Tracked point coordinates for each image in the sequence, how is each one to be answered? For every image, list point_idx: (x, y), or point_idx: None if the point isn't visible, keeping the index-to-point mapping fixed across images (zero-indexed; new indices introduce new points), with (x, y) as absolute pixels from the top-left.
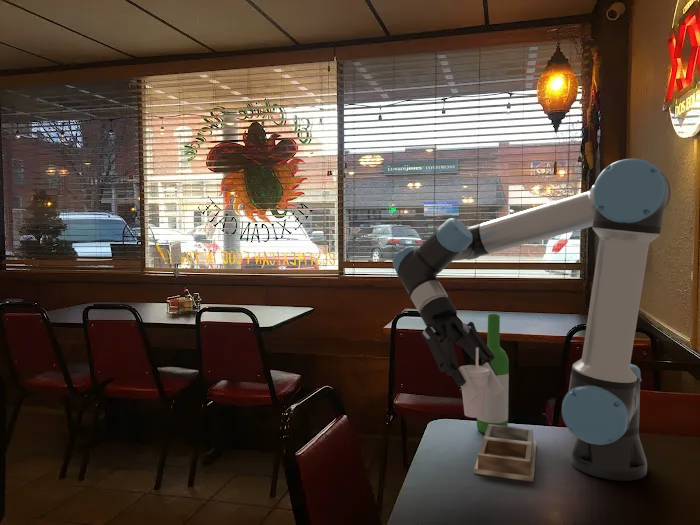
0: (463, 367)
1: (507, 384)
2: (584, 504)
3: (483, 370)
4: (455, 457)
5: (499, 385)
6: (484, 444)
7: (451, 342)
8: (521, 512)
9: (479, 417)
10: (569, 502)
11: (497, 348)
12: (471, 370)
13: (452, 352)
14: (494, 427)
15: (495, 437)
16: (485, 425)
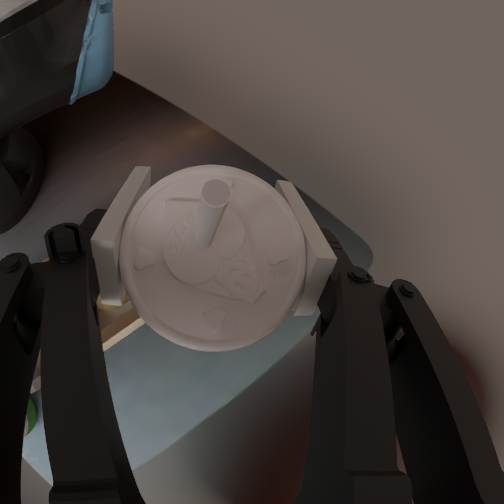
0: (241, 321)
1: None
2: (137, 125)
3: (199, 194)
4: (154, 372)
5: (144, 173)
6: (115, 325)
7: (357, 450)
8: (229, 160)
9: (25, 426)
10: (146, 139)
11: None
12: (258, 237)
13: (371, 351)
14: None
15: (37, 370)
16: (27, 408)
